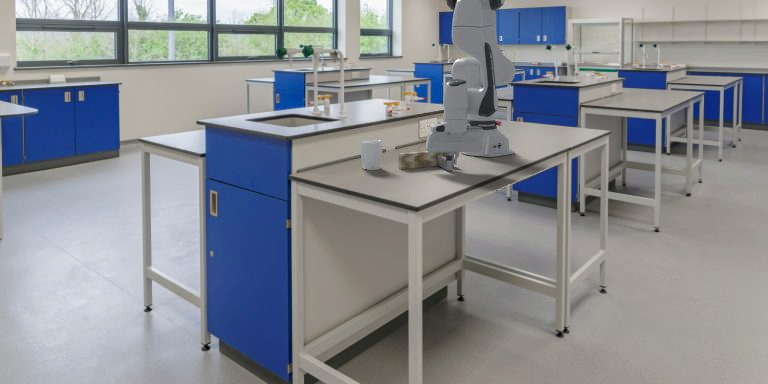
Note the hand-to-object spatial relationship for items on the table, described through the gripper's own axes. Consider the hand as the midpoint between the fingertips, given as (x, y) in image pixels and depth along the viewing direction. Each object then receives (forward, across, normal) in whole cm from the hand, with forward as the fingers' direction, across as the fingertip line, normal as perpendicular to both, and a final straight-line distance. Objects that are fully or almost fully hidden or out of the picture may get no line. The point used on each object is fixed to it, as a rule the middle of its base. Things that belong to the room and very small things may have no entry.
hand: (453, 164), depth 223 cm
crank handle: (+2, +3, -3) cm, 4 cm away
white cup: (+2, +30, -4) cm, 30 cm away
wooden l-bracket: (+2, +9, -5) cm, 11 cm away
